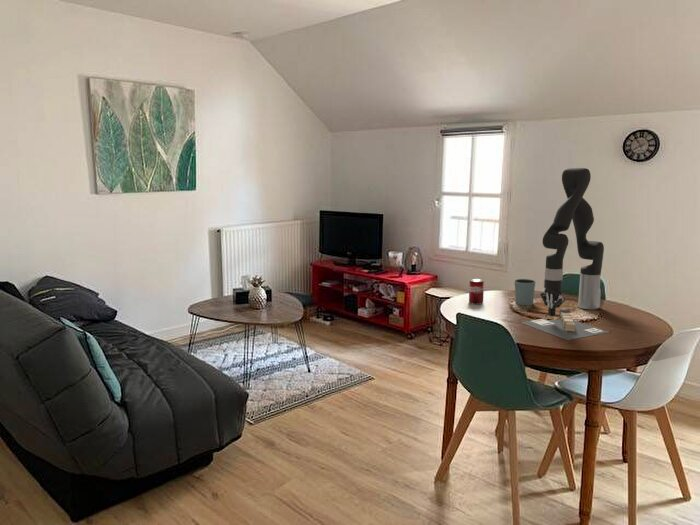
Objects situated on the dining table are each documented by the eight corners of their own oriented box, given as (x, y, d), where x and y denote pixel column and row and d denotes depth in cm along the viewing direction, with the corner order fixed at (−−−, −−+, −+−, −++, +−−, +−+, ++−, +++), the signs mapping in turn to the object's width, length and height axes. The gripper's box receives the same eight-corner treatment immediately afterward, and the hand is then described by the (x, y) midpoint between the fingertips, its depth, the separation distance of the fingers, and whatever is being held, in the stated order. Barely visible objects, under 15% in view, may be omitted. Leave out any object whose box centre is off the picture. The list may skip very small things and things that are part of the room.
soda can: (483, 305, 274) (484, 282, 272) (468, 304, 276) (469, 281, 274) (482, 301, 281) (483, 279, 279) (468, 301, 283) (469, 278, 281)
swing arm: (558, 316, 250) (559, 307, 250) (568, 316, 249) (569, 308, 249) (564, 330, 228) (565, 321, 228) (575, 331, 227) (576, 322, 227)
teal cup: (537, 306, 271) (538, 282, 269) (516, 306, 271) (517, 283, 269) (530, 301, 281) (531, 278, 279) (511, 301, 281) (512, 278, 279)
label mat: (560, 316, 253) (560, 315, 253) (610, 332, 228) (610, 331, 228) (519, 322, 243) (519, 322, 243) (567, 340, 218) (567, 339, 218)
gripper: (571, 280, 233) (569, 318, 236) (548, 274, 245) (547, 311, 248) (558, 281, 230) (556, 320, 233) (536, 276, 242) (534, 313, 245)
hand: (551, 315), depth 240 cm, fingers closed
